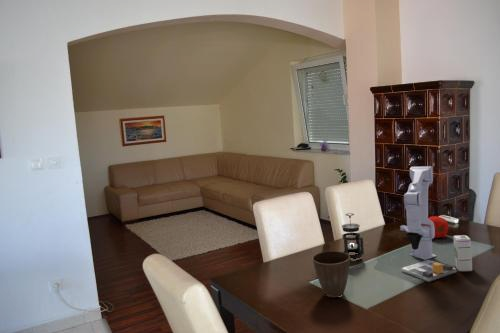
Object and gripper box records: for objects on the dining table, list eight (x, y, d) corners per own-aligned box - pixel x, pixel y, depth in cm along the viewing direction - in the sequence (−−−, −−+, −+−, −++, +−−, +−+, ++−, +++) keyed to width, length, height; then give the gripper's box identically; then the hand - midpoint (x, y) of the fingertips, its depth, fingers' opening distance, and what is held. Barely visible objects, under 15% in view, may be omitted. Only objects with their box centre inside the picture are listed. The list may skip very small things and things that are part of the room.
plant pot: (345, 305, 159) (342, 265, 157) (310, 299, 167) (306, 261, 165) (357, 289, 171) (354, 252, 170) (323, 285, 179) (320, 249, 178)
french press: (338, 258, 210) (335, 214, 207) (350, 253, 215) (347, 210, 213) (357, 263, 200) (353, 217, 198) (369, 258, 206) (366, 213, 203)
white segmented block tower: (472, 271, 178) (471, 238, 177) (458, 271, 179) (456, 239, 178) (468, 266, 184) (467, 234, 182) (454, 266, 185) (453, 235, 183)
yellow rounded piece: (432, 271, 178) (432, 263, 177) (437, 270, 179) (436, 262, 179) (438, 273, 175) (438, 265, 175) (442, 272, 176) (442, 264, 176)
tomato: (428, 238, 235) (438, 246, 222) (415, 222, 234) (424, 228, 221) (447, 225, 234) (457, 232, 220) (433, 208, 233) (443, 214, 219)
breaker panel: (401, 271, 186) (401, 265, 185) (428, 262, 193) (428, 256, 192) (428, 281, 172) (428, 274, 172) (456, 271, 179) (456, 265, 179)
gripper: (394, 217, 186) (396, 246, 188) (420, 223, 173) (421, 255, 175) (406, 215, 189) (407, 243, 191) (432, 220, 176) (433, 251, 178)
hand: (415, 248), depth 183 cm, fingers closed
